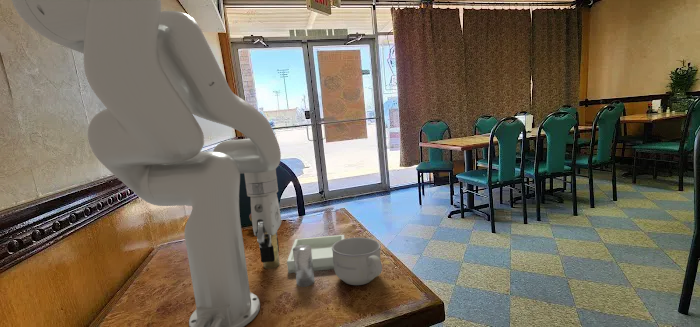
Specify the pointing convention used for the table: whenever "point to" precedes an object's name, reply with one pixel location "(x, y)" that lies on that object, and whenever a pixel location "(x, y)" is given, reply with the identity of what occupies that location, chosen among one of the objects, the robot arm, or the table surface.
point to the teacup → (357, 260)
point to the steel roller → (303, 265)
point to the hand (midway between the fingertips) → (270, 256)
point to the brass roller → (276, 255)
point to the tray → (316, 252)
